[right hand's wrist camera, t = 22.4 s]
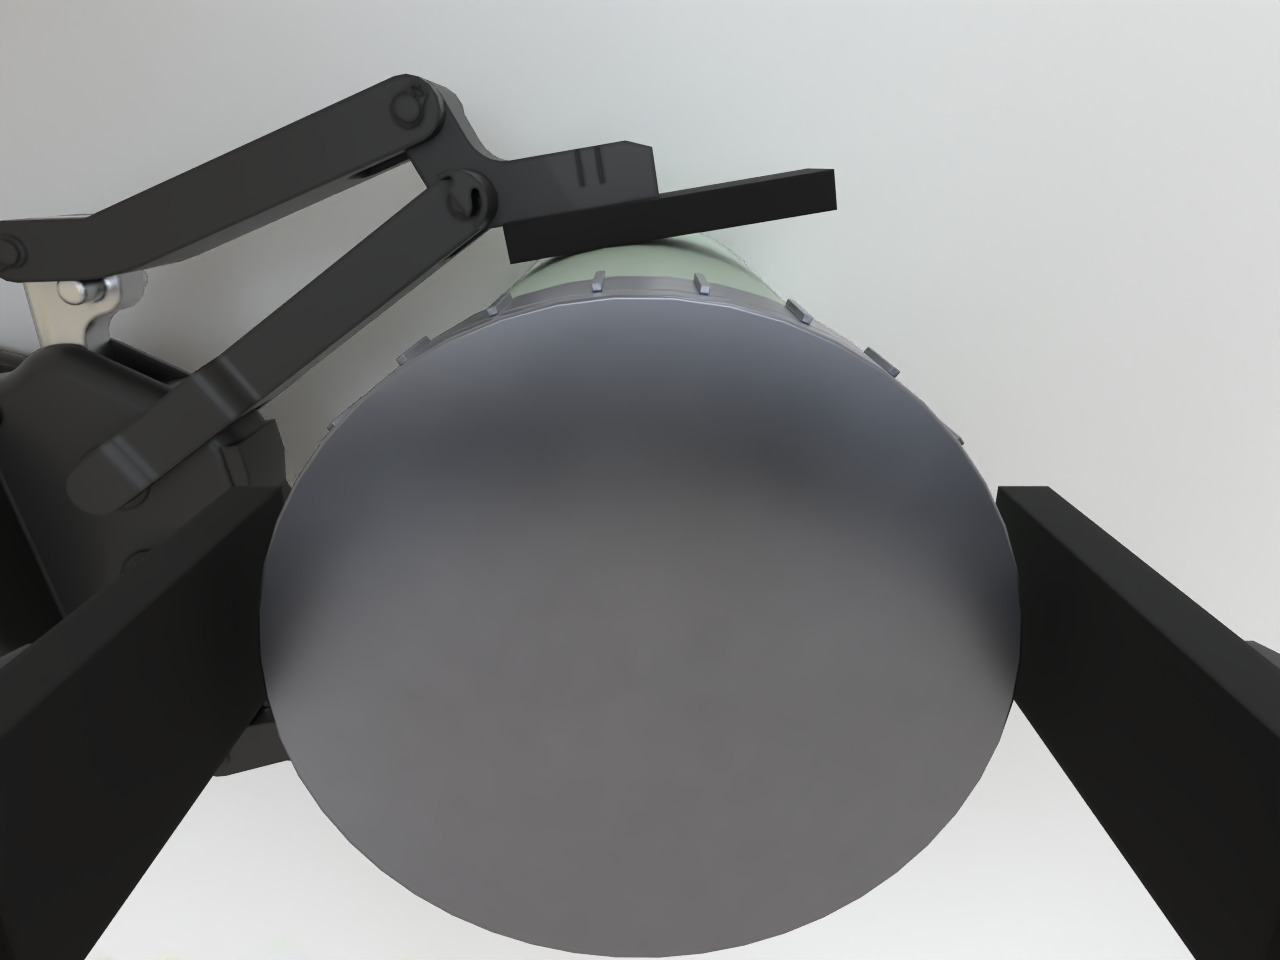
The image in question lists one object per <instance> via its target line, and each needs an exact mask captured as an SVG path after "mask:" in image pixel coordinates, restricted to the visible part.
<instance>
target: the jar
mask: <svg viewBox="0 0 1280 960" xmlns="http://www.w3.org/2000/svg"><path fill="white" fill-rule="evenodd" d="M597 271H605V274H606V277H614V276H668V277H675V278H683V279H690V280H694V274H695V273H700V274H703V275H704V276H705V278H706V280H707V282H711V283H718V284H721V285H725V286H728V287H732V288H735V289H739V290H743V291H746V292H750V293H753V294H757V295H760V296H764V297H767V298H769V299H771V300H773V301H776V302H778V303H780V304H783V305H785V304H786V303H785V302H784V301H783V300H782V299H781V298H780V297H779V296H778V295H777V294H776V293H775V292H774V291H773V290H772V289H771V288H769V287H768V286H767V285H766V284H765V283H764V282H763V281H762V280H761V279H760V278H759V277H758V276H757V275H756V274H755V273H754V272H753V271H752V270H750V269H749V268H748V267H747V266H746V265H745V264H744V263H743V262H742V261H741V260H740V259H739V258H737V257H736V256H735V255H734V254H733V253H732V252H731V251H729V250H728V249H727V248H725V247H724V246H722V245H721V244H719V243H718V242H716V241H714V240H713V239H711V238H709V237H707V236H705V235H703V234H701V233H694V234H688V235H682V236H676V237H670V238H664V239H658V240H652V241H646V242H640V243H634V244H628V245H622V246H616V247H610V248H603V249H598V250H592V251H586V252H580V253H574V254H568V255H562V256H556V257H550V258H544V259H541V260H540V261H538V262H537V263H536V264H535V265H534V266H533V267H532V268H531V269H530V270H529V271H528V272H527V273H526V274H525V275H524V276H523V277H522V278H521V279H520V280H518V281H517V282H516V283H515V284H514V285H513V286H512V287H511V288H510V289H509V290H508V291H507V292H506V293H508V292H510V293H511V296H512V298H514V297H517V296H519V295H523V294H526V293H530V292H534V291H538V290H541V289H545V288H549V287H553V286H556V285H560V284H564V283H568V282H575V281H583V280H591V279H594V276H595V274H596V272H597Z"/></svg>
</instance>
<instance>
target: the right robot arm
mask: <svg viewBox="0 0 1280 960" xmlns="http://www.w3.org/2000/svg"><path fill="white" fill-rule="evenodd" d="M996 506H997V508H998V510H999V513H1000V515H1001V517H1002V519H1003V521H1004V524H1005V526H1006V529H1007V533H1008V537H1009V540H1010V544H1011V547H1012V551H1013V555H1014V558H1015V562H1016V565H1017V569H1018V577H1019V585H1020V594H1021V602H1022V611H1023V625H1022V651H1021V663H1020V668H1019V673H1018V679H1017V684H1016V689H1015V694H1014V701H1015V702H1016V703H1017V705H1018V706H1019V708H1020V709H1021V711H1022V712H1023V713H1024V715H1025V716H1026V718H1027V719H1028V721H1029V722H1030V723H1031V725H1032V726H1033V728H1034V729H1035V731H1036V732H1037V733H1038V735H1039V736H1040V738H1041V739H1042V741H1043V742H1044V743H1045V745H1046V746H1047V748H1048V749H1049V751H1050V752H1051V754H1052V755H1053V756H1054V758H1055V759H1056V761H1057V762H1058V764H1059V765H1060V766H1061V768H1062V769H1063V771H1064V772H1065V774H1066V775H1067V776H1068V778H1069V779H1070V781H1071V782H1072V784H1073V785H1074V786H1075V788H1076V789H1077V791H1078V792H1079V794H1080V795H1081V796H1082V798H1083V799H1084V801H1085V802H1086V804H1087V805H1088V806H1089V808H1090V809H1091V811H1092V812H1093V814H1094V815H1095V816H1096V818H1097V819H1098V821H1099V822H1100V824H1101V825H1102V826H1103V828H1104V829H1105V831H1106V832H1107V834H1108V835H1109V836H1110V838H1111V839H1112V841H1113V842H1114V844H1115V845H1116V846H1117V848H1118V849H1119V851H1120V852H1121V854H1122V855H1123V856H1124V858H1125V859H1126V861H1127V862H1128V864H1129V865H1130V866H1131V868H1132V869H1133V871H1134V872H1135V874H1136V875H1137V877H1138V878H1139V879H1140V881H1141V882H1142V884H1143V885H1144V887H1145V888H1146V889H1147V891H1148V892H1149V894H1150V895H1151V897H1152V898H1153V899H1154V901H1155V902H1156V904H1157V905H1158V907H1159V908H1160V909H1161V911H1162V912H1163V914H1164V915H1165V917H1166V918H1167V919H1168V921H1169V922H1170V924H1171V925H1172V927H1173V928H1174V929H1175V931H1176V932H1177V934H1178V935H1179V937H1180V938H1181V939H1182V941H1183V942H1184V944H1185V945H1186V947H1187V948H1188V949H1189V951H1190V952H1191V954H1192V955H1193V957H1194V958H1195V959H1196V960H1280V654H1279V653H1277V652H1275V651H1273V650H1271V649H1269V648H1267V647H1265V646H1263V645H1261V644H1259V643H1257V642H1254V641H1244V640H1243V639H1241V638H1240V637H1239V636H1237V635H1236V634H1235V633H1234V632H1232V631H1231V630H1230V629H1229V628H1227V627H1226V626H1225V625H1224V624H1222V623H1221V622H1220V621H1218V620H1217V619H1216V618H1215V617H1213V616H1212V615H1211V614H1210V613H1208V612H1207V611H1206V610H1204V609H1203V608H1202V607H1201V606H1199V605H1198V604H1197V603H1196V602H1194V601H1193V600H1192V599H1190V598H1189V597H1188V596H1187V595H1185V594H1184V593H1183V592H1182V591H1180V590H1179V589H1178V588H1177V587H1175V586H1174V585H1173V584H1171V583H1170V582H1169V581H1168V580H1166V579H1165V578H1164V577H1163V576H1161V575H1160V574H1159V573H1157V572H1156V571H1155V570H1154V569H1152V568H1151V567H1150V566H1149V565H1147V564H1146V563H1145V562H1144V561H1142V560H1141V559H1140V558H1138V557H1137V556H1136V555H1135V554H1133V553H1132V552H1131V551H1130V550H1128V549H1127V548H1126V547H1124V546H1123V545H1122V544H1121V543H1119V542H1118V541H1117V540H1116V539H1114V538H1113V537H1112V536H1110V535H1109V534H1108V533H1107V532H1105V531H1104V530H1103V529H1102V528H1100V527H1099V526H1098V525H1097V524H1095V523H1094V522H1093V521H1091V520H1090V519H1089V518H1088V517H1086V516H1085V515H1084V514H1083V513H1081V512H1080V511H1079V510H1077V509H1076V508H1075V507H1074V506H1072V505H1071V504H1070V503H1069V502H1067V501H1066V500H1065V499H1064V498H1062V497H1061V496H1060V495H1058V494H1057V493H1056V492H1055V491H1053V490H1052V489H1051V488H1050V487H1048V486H998V492H997V498H996ZM283 507H284V498H283V492H282V486H232V487H230V488H229V489H228V490H227V491H225V492H224V493H223V494H222V495H220V496H219V497H218V498H216V499H215V500H214V501H213V502H211V503H210V504H209V505H208V506H206V507H205V508H204V509H203V510H201V511H200V512H199V513H197V514H196V515H195V516H194V517H192V518H191V519H190V520H189V521H187V522H186V523H185V524H183V525H182V526H181V527H180V528H178V529H177V530H176V531H175V532H173V533H172V534H171V535H169V536H168V537H167V538H166V539H164V540H163V541H162V542H161V543H159V544H158V545H157V546H156V547H154V548H153V549H152V550H150V551H149V552H148V553H147V554H145V555H144V556H143V557H142V558H140V559H139V560H138V561H136V562H135V563H134V564H133V565H131V566H130V567H129V568H128V569H126V570H125V571H124V572H123V573H121V574H120V575H119V576H117V577H116V578H115V579H114V580H112V581H111V582H110V583H109V584H107V585H106V586H105V587H103V588H102V589H101V590H100V591H98V592H97V593H96V594H95V595H93V596H92V597H91V598H90V599H88V600H87V601H86V602H84V603H83V604H82V605H81V606H79V607H78V608H77V609H76V610H74V611H73V612H72V613H70V614H69V615H68V616H67V617H65V618H64V619H63V620H62V621H60V622H59V623H58V624H56V625H55V626H54V627H53V628H51V629H50V630H49V631H48V632H46V633H45V634H44V635H43V636H41V637H40V638H39V639H37V640H36V641H35V642H34V643H32V644H26V645H24V646H22V647H20V648H18V649H16V650H14V651H12V652H10V653H8V654H6V655H4V656H2V657H0V960H84V959H85V958H86V957H87V955H88V954H89V952H90V951H91V949H92V948H93V947H94V945H95V944H96V942H97V941H98V939H99V938H100V937H101V935H102V934H103V932H104V931H105V929H106V928H107V927H108V925H109V924H110V922H111V921H112V919H113V918H114V917H115V915H116V914H117V912H118V911H119V909H120V908H121V907H122V905H123V904H124V902H125V901H126V899H127V898H128V897H129V895H130V894H131V892H132V891H133V889H134V888H135V887H136V885H137V884H138V882H139V881H140V879H141V878H142V876H143V875H144V874H145V872H146V871H147V869H148V868H149V866H150V865H151V864H152V862H153V861H154V859H155V858H156V856H157V855H158V854H159V852H160V851H161V849H162V848H163V846H164V845H165V844H166V842H167V841H168V839H169V838H170V836H171V835H172V834H173V832H174V831H175V829H176V828H177V826H178V825H179V824H180V822H181V821H182V819H183V818H184V816H185V815H186V814H187V812H188V811H189V809H190V808H191V806H192V805H193V804H194V802H195V801H196V799H197V798H198V796H199V795H200V794H201V792H202V791H203V789H204V788H205V786H206V785H207V784H208V782H209V781H210V779H211V778H212V776H213V775H214V774H215V772H216V771H217V769H218V768H219V766H220V765H221V764H222V762H223V761H224V759H225V758H226V756H227V755H228V753H229V752H230V751H231V749H232V748H233V746H234V745H235V743H236V742H237V741H238V739H239V738H240V736H241V735H242V733H243V732H244V731H245V729H246V728H247V726H248V725H249V723H250V722H251V721H252V719H253V718H254V716H255V715H256V713H257V712H258V711H259V709H260V708H261V706H262V705H263V703H264V702H265V701H266V699H267V698H266V693H265V688H264V682H263V676H262V671H261V665H260V659H259V644H258V604H259V596H260V589H261V581H262V574H263V566H264V562H265V559H266V555H267V552H268V549H269V545H270V542H271V539H272V535H273V532H274V528H275V525H276V522H277V519H278V517H279V515H280V513H281V511H282V509H283Z"/></svg>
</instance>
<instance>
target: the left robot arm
mask: <svg viewBox="0 0 1280 960" xmlns="http://www.w3.org/2000/svg"><path fill="white" fill-rule="evenodd" d="M409 161H411V162H412V164H413V165H414V167H415V169H416V170H417V172H418V174H419V175H420V177H421V178H422V180H423V182H424V183H425V185H426V187H427V189H426V190H425V191H423V192H422V193H421V194H420V195H418V196H417V197H416V198H415V199H413V200H412V201H411V202H410V203H408V204H407V205H406V206H405V207H404V208H402V209H401V210H400V211H399V212H397V213H396V214H395V215H394V216H392V217H391V218H390V219H389V220H387V221H386V222H385V223H384V224H382V225H381V226H380V227H379V228H377V229H376V230H375V231H374V232H372V233H371V234H370V235H369V236H367V237H366V238H365V239H364V240H363V241H361V242H360V243H359V244H358V245H356V246H355V247H354V248H353V249H351V250H350V251H349V252H348V253H346V254H345V255H344V256H343V257H341V258H340V259H339V260H338V261H336V262H335V263H334V264H333V265H331V266H330V267H329V268H328V269H326V270H325V271H324V272H323V273H321V274H320V275H319V276H318V277H317V278H315V279H314V280H313V281H312V282H310V283H309V284H308V285H307V286H305V287H304V288H303V289H302V290H300V291H299V292H298V293H297V294H295V295H294V296H293V297H292V298H290V299H289V300H288V301H287V302H285V303H284V304H283V305H282V306H280V307H279V308H278V309H277V310H276V311H274V312H273V313H272V314H271V315H269V316H268V317H267V318H266V319H264V320H263V321H262V322H261V323H259V324H258V325H257V326H256V327H254V328H253V329H252V330H251V331H249V332H248V333H247V334H246V335H244V336H243V337H242V338H241V339H239V340H238V341H237V342H236V343H235V344H233V345H232V346H231V347H230V348H228V349H227V350H226V351H225V352H223V353H222V354H221V355H219V356H218V357H217V358H215V359H214V360H212V361H210V362H209V363H207V364H206V365H204V366H203V367H201V368H200V369H198V370H197V371H195V372H194V373H193V374H191V373H189V372H187V371H184V370H182V369H180V368H178V367H176V366H173V365H171V364H169V363H167V362H165V361H162V360H160V359H158V358H156V357H153V356H151V355H149V354H147V353H145V352H142V351H140V350H138V349H136V348H134V347H131V346H129V345H127V344H125V343H122V342H120V341H118V340H116V339H113V338H110V337H109V324H110V320H111V319H112V317H113V316H114V314H116V313H117V312H118V311H119V310H122V309H125V308H128V307H131V306H134V305H135V304H136V303H137V302H139V301H140V299H141V297H142V296H143V293H144V288H145V286H146V284H147V282H148V276H147V274H146V272H145V270H144V269H148V268H153V267H157V266H162V265H166V264H171V263H175V262H180V261H183V260H185V259H188V258H191V257H194V256H196V255H199V254H201V253H204V252H206V251H208V250H210V249H213V248H215V247H217V246H219V245H222V244H224V243H226V242H228V241H231V240H233V239H235V238H237V237H240V236H242V235H244V234H246V233H249V232H251V231H253V230H255V229H258V228H260V227H262V226H264V225H267V224H269V223H271V222H274V221H276V220H278V219H280V218H283V217H285V216H287V215H289V214H292V213H294V212H296V211H298V210H301V209H303V208H305V207H307V206H310V205H312V204H314V203H316V202H319V201H321V200H323V199H325V198H328V197H330V196H332V195H334V194H337V193H339V192H341V191H343V190H346V189H348V188H350V187H353V186H355V185H357V184H359V183H362V182H364V181H366V180H368V179H371V178H373V177H375V176H377V175H380V174H382V173H384V172H386V171H389V170H391V169H393V168H395V167H398V166H400V165H402V164H404V163H407V162H409ZM832 210H837V203H836V190H835V176H834V169H802V170H796V171H791V172H785V173H779V174H773V175H767V176H761V177H755V178H749V179H744V180H738V181H732V182H726V183H720V184H714V185H708V186H702V187H696V188H691V189H685V190H679V191H673V192H667V193H661V194H659V192H658V185H657V178H656V171H655V164H654V157H653V151H652V147H650V146H646V145H642V144H637V143H633V142H629V141H620V142H614V143H609V144H603V145H598V146H591V147H586V148H580V149H574V150H568V151H563V152H557V153H551V154H545V155H540V156H534V157H528V158H522V159H517V160H511V161H507V160H502V159H500V158H498V157H496V156H494V155H492V154H491V153H490V152H489V151H488V150H487V149H485V147H484V146H483V145H482V143H481V142H480V140H479V139H478V137H477V135H476V133H475V132H474V130H473V128H472V127H471V125H470V123H469V121H468V120H467V118H466V116H465V114H464V110H463V106H462V103H461V102H460V100H459V99H458V97H457V96H456V94H454V93H453V92H451V91H450V90H449V89H447V88H446V87H443V86H441V85H438V84H436V83H433V82H431V81H428V80H426V79H423V78H421V77H418V76H413V75H409V74H403V75H398V76H393V77H391V78H389V79H387V80H385V81H383V82H380V83H378V84H376V85H374V86H372V87H370V88H367V89H365V90H363V91H361V92H359V93H356V94H354V95H352V96H350V97H348V98H346V99H343V100H341V101H339V102H337V103H335V104H332V105H330V106H328V107H326V108H324V109H322V110H319V111H317V112H315V113H313V114H311V115H308V116H306V117H304V118H302V119H300V120H298V121H295V122H293V123H291V124H289V125H287V126H285V127H282V128H280V129H278V130H276V131H274V132H271V133H269V134H267V135H265V136H263V137H261V138H258V139H256V140H254V141H252V142H250V143H247V144H245V145H243V146H241V147H239V148H237V149H234V150H232V151H230V152H228V153H226V154H224V155H221V156H219V157H217V158H215V159H213V160H210V161H208V162H206V163H204V164H202V165H200V166H197V167H195V168H193V169H191V170H189V171H186V172H184V173H182V174H180V175H178V176H176V177H173V178H171V179H169V180H167V181H165V182H163V183H160V184H158V185H156V186H154V187H152V188H149V189H147V190H145V191H143V192H141V193H139V194H136V195H134V196H132V197H130V198H128V199H125V200H123V201H121V202H119V203H117V204H115V205H112V206H110V207H108V208H106V209H104V210H102V211H99V212H97V213H95V214H74V215H63V216H52V217H40V218H29V219H17V220H6V221H0V278H2V279H4V280H6V281H11V282H17V283H23V285H24V289H25V292H26V296H27V300H28V303H29V307H30V310H31V314H32V317H33V321H34V325H35V328H36V332H37V335H38V339H39V342H40V346H41V349H39V350H37V351H35V352H33V353H32V354H31V355H29V356H28V357H27V358H26V359H25V360H24V361H23V362H22V363H21V364H20V365H19V366H18V367H17V368H16V369H15V370H13V371H12V372H6V373H0V657H2V656H4V655H6V654H8V653H10V652H12V651H14V650H16V649H18V648H20V647H22V646H24V645H26V644H32V643H34V642H35V641H36V640H37V639H39V638H40V637H41V636H43V635H44V634H45V633H46V632H48V631H49V630H50V629H51V628H53V627H54V626H55V625H56V624H58V623H59V622H60V621H62V620H63V619H64V618H65V617H67V616H68V615H69V614H70V613H72V612H73V611H74V610H76V609H77V608H78V607H79V606H81V605H82V604H83V603H84V602H86V601H87V600H88V599H90V598H91V597H92V596H93V595H95V594H96V593H97V592H98V591H100V590H101V589H102V588H103V587H105V586H106V585H107V584H109V583H110V582H111V581H112V580H114V579H115V578H116V577H117V576H119V575H120V574H121V573H123V572H124V571H125V570H126V569H128V568H129V567H130V566H131V565H133V564H134V563H135V562H136V561H138V560H139V559H140V558H142V557H143V556H144V555H145V554H147V553H148V552H149V551H150V550H152V549H153V548H154V547H156V546H157V545H158V544H159V543H161V542H162V541H163V540H164V539H166V538H167V537H168V536H169V535H171V534H172V533H173V532H175V531H176V530H177V529H178V528H180V527H181V526H182V525H183V524H185V523H186V522H187V521H189V520H190V519H191V518H192V517H194V516H195V515H196V514H197V513H199V512H200V511H201V510H203V509H204V508H205V507H206V506H208V505H209V504H210V503H211V502H213V501H214V500H215V499H216V498H218V497H219V496H220V495H222V494H223V493H224V492H225V491H227V490H228V489H229V488H230V487H232V486H282V492H283V498H284V504H285V501H286V500H287V498H288V496H289V494H290V492H291V490H292V489H291V487H290V485H289V484H288V482H287V480H286V474H285V452H284V446H283V443H282V440H281V437H280V434H279V431H278V428H277V424H276V421H275V419H272V420H266V421H265V420H264V418H263V417H262V415H261V414H260V413H259V412H258V410H259V409H261V408H262V407H263V406H264V405H266V404H267V403H268V402H270V401H271V400H272V399H273V398H275V397H276V396H277V395H279V394H280V393H281V392H282V391H284V390H285V389H286V388H288V387H289V386H290V385H291V384H293V383H294V382H295V381H296V380H298V379H299V378H300V377H301V376H302V375H303V374H304V373H305V372H307V371H308V370H309V369H311V368H312V367H313V366H314V365H316V364H317V363H318V362H320V361H321V360H322V359H323V358H325V357H326V356H327V355H329V354H330V353H331V352H332V351H334V350H335V349H336V348H338V347H339V346H340V345H341V344H343V343H344V342H345V341H347V340H348V339H349V338H350V337H352V336H353V335H354V334H356V333H357V332H358V331H359V330H361V329H362V328H363V327H365V326H366V325H367V324H368V323H370V322H371V321H372V320H374V319H375V318H376V317H377V316H379V315H380V314H381V313H383V312H384V311H385V310H386V309H388V308H389V307H390V306H392V305H393V304H394V303H396V302H397V301H398V300H399V299H401V298H402V297H403V296H405V295H406V294H407V293H408V292H410V291H411V290H412V289H414V288H415V287H416V286H417V285H419V284H420V283H421V282H423V281H424V280H425V279H426V278H428V277H429V276H430V275H432V274H433V273H434V272H435V271H437V270H438V269H439V268H441V267H442V266H443V265H444V264H446V263H447V262H448V261H450V260H451V259H452V258H453V257H455V256H456V255H457V254H459V253H460V252H461V251H462V250H464V249H465V248H466V247H468V246H469V245H470V244H471V243H473V242H474V241H475V240H477V239H478V238H479V237H481V236H482V235H483V234H484V233H486V232H487V231H488V230H490V229H491V228H495V227H501V226H503V230H504V235H505V240H506V245H507V249H508V254H509V259H510V264H514V263H520V262H526V261H532V260H538V259H544V258H550V257H556V256H562V255H568V254H574V253H580V252H586V251H592V250H598V249H603V248H610V247H616V246H622V245H628V244H634V243H640V242H646V241H652V240H658V239H664V238H670V237H676V236H682V235H688V234H694V233H700V232H706V231H712V230H718V229H724V228H730V227H736V226H742V225H748V224H754V223H760V222H766V221H772V220H778V219H784V218H790V217H796V216H802V215H808V214H814V213H820V212H826V211H832ZM286 760H288V761H291V760H290V758H289V756H288V754H287V752H286V750H285V748H284V746H283V744H282V742H281V740H280V738H279V735H278V731H277V728H276V725H275V722H274V719H273V716H272V713H271V710H270V707H269V704H268V701H267V699H266V701H265V702H264V703H263V705H262V706H261V708H260V709H259V711H258V712H257V713H256V715H255V716H254V718H253V719H252V721H251V722H250V723H249V725H248V726H247V728H246V729H245V731H244V732H243V733H242V735H241V736H240V738H239V739H238V741H237V742H236V743H235V745H234V746H233V748H232V749H231V751H230V752H229V753H228V755H227V756H226V758H225V759H224V761H223V762H222V764H221V765H220V766H219V768H218V769H217V771H216V772H215V774H214V775H213V776H227V775H231V774H235V773H239V772H243V771H247V770H251V769H255V768H258V767H262V766H266V765H270V764H274V763H278V762H282V761H286Z"/></svg>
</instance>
